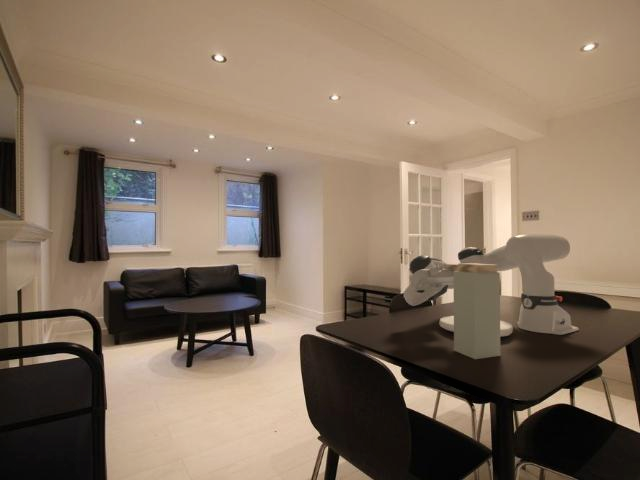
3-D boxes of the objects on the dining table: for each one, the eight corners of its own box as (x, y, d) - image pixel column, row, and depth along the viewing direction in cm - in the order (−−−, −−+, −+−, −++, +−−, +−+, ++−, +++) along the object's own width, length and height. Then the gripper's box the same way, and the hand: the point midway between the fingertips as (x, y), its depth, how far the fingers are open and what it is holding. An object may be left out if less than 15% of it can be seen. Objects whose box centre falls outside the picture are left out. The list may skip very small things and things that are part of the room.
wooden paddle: (439, 269, 118) (439, 262, 118) (455, 268, 120) (455, 261, 120) (479, 273, 100) (479, 265, 100) (497, 272, 102) (497, 264, 102)
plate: (434, 312, 148) (499, 314, 142) (434, 326, 147) (499, 330, 142) (445, 319, 120) (525, 322, 115) (445, 337, 120) (526, 342, 114)
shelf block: (478, 347, 111) (477, 270, 112) (500, 355, 103) (499, 272, 103) (454, 350, 108) (453, 271, 109) (475, 359, 100) (474, 273, 100)
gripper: (455, 289, 129) (478, 274, 118) (410, 292, 123) (430, 276, 111) (449, 275, 132) (471, 258, 121) (405, 276, 126) (424, 259, 114)
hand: (451, 267), depth 116 cm, fingers open, 8 cm apart
